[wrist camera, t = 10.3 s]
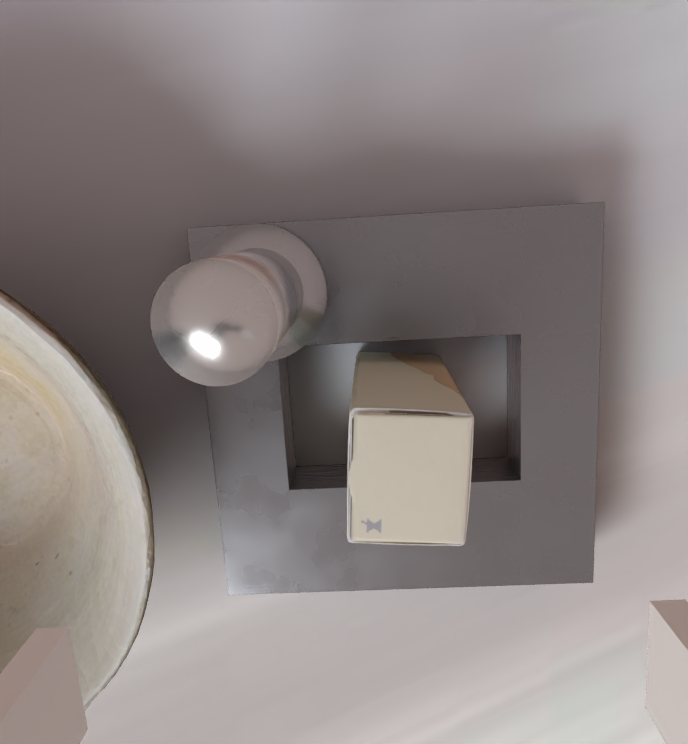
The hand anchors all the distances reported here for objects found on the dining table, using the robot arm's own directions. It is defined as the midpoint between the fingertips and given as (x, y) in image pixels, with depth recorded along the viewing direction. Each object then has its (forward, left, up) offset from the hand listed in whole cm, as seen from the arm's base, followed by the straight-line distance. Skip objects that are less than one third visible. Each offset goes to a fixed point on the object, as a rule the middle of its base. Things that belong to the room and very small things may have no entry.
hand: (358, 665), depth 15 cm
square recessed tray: (+2, +1, -19) cm, 19 cm away
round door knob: (-4, +7, -19) cm, 21 cm away
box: (+2, +1, -19) cm, 19 cm away
